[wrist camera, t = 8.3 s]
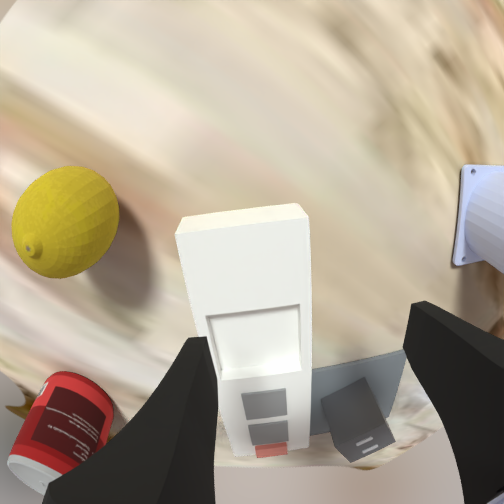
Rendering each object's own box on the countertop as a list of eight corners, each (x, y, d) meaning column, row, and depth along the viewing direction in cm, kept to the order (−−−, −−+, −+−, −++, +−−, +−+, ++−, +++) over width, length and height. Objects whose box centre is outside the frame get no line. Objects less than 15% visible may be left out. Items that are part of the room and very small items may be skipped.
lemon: (153, 200, 18) (106, 252, 11) (101, 257, 19) (47, 326, 12) (93, 138, 16) (16, 155, 9) (46, 201, 18) (-28, 246, 10)
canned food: (61, 414, 26) (32, 492, 16) (36, 362, 23) (-11, 448, 13) (123, 426, 27) (103, 515, 17) (104, 374, 24) (68, 479, 14)
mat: (406, 348, 25) (407, 351, 24) (387, 414, 29) (388, 416, 28) (297, 371, 24) (298, 375, 24) (298, 434, 28) (299, 437, 28)
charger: (364, 376, 25) (386, 423, 20) (376, 399, 27) (396, 442, 21) (320, 398, 26) (335, 447, 20) (336, 418, 27) (350, 463, 22)
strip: (182, 217, 19) (173, 237, 16) (297, 202, 19) (311, 220, 16) (237, 446, 29) (239, 473, 26) (303, 438, 29) (308, 464, 26)
